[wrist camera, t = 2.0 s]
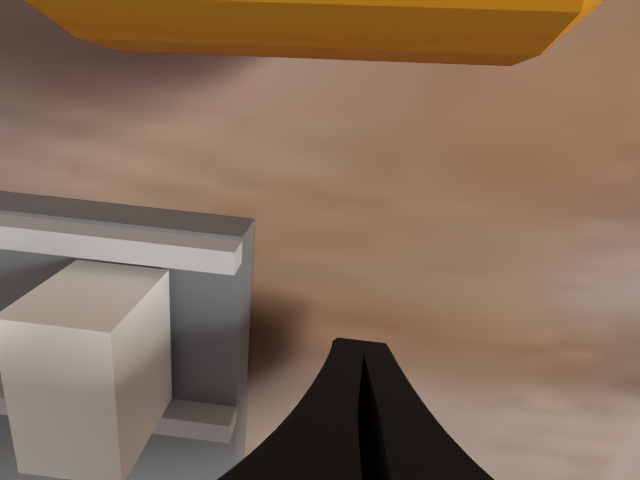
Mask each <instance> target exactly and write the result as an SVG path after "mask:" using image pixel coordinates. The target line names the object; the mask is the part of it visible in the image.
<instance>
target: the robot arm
mask: <svg viewBox="0 0 640 480" xmlns="http://www.w3.org/2000/svg"><path fill="white" fill-rule="evenodd" d="M217 480H494V479H493V478H492V477H491V476H490V475H488V474H487V473H486V472H485V471H484V470H483V469H482V468H481V467H480V466H478V465H477V464H476V463H475V462H474V461H473V460H472V459H471V458H470V457H469V456H468V455H467V454H466V453H465V452H464V451H463V450H462V449H461V447H460V446H459V445H458V444H457V443H456V442H455V441H454V440H453V439H452V438H451V437H450V436H449V435H448V434H447V432H446V431H445V430H444V429H443V428H442V426H441V425H440V424H439V423H438V421H437V420H436V419H435V418H434V416H433V415H432V414H431V412H430V411H429V410H428V408H427V407H426V406H425V404H424V403H423V402H422V400H421V399H420V397H419V396H418V394H417V393H416V391H415V390H414V388H413V387H412V386H411V384H410V383H409V381H408V379H407V378H406V376H405V375H404V373H403V371H402V370H401V368H400V366H399V365H398V363H397V361H396V360H395V358H394V356H393V354H392V352H391V350H390V349H389V347H388V346H387V344H386V343H379V342H370V341H362V340H353V339H345V338H336V339H335V340H334V341H333V343H332V347H331V350H330V353H329V355H328V357H327V359H326V361H325V363H324V365H323V367H322V369H321V371H320V372H319V374H318V376H317V377H316V379H315V381H314V382H313V384H312V385H311V387H310V388H309V389H308V391H307V392H306V394H305V395H304V396H303V398H302V399H301V400H300V402H299V403H298V404H297V406H296V407H295V408H294V409H293V411H292V412H291V413H290V414H289V415H288V417H287V418H286V419H285V420H284V421H283V422H282V423H281V424H280V425H279V426H278V428H277V429H276V430H275V431H274V432H273V433H272V434H271V435H269V436H268V437H267V438H266V439H265V440H264V441H263V442H262V443H261V444H260V445H259V446H258V447H257V448H256V449H255V450H254V451H252V452H251V453H250V454H249V455H248V456H247V457H245V458H244V459H243V460H241V461H240V462H239V463H238V464H236V465H235V466H234V467H232V468H231V469H230V470H229V471H227V472H226V473H225V474H223V475H222V476H221V477H219V478H218V479H217Z"/></svg>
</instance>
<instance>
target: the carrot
mask: <svg viewBox="0 0 640 480" xmlns="http://www.w3.org/2000/svg"><path fill="white" fill-rule="evenodd" d="M24 1H26V2H27V3H29V4H30V5H31V6H33V7H34V8H35V9H37V10H38V11H40V12H41V13H42V14H44V15H45V16H46V17H48V18H49V19H51V20H52V21H53V22H55V23H56V24H58V25H59V26H60V27H62V28H63V29H64V30H66V31H67V32H69V33H70V34H71V35H73V36H74V37H75V38H78V39H81V40H84V41H88V42H91V43H94V44H97V45H101V46H104V47H107V48H111V49H114V50H117V51H129V52H155V53H181V54H208V55H234V56H260V57H286V58H312V59H338V60H365V61H391V62H417V63H443V64H469V65H495V66H512V65H515V64H517V63H520V62H523V61H525V60H528V59H531V58H534V57H536V56H539V55H541V54H542V53H543V52H544V51H545V50H547V49H548V48H549V47H550V46H551V45H553V44H554V43H555V42H556V41H557V40H558V39H560V38H561V37H562V36H563V35H564V34H566V33H567V32H568V31H569V30H570V29H571V28H573V27H574V26H575V25H576V24H577V23H578V22H580V21H581V20H582V19H583V18H584V17H586V16H587V15H588V14H589V13H590V12H591V11H593V10H594V9H595V8H596V7H597V6H599V5H600V4H601V3H602V2H603V1H604V0H24Z"/></svg>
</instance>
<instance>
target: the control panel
mask: <svg viewBox="0 0 640 480" xmlns="http://www.w3.org/2000/svg"><path fill="white" fill-rule="evenodd" d="M254 222H255V219H248V218H239V217H230V216H221V215H212V214H203V213H194V212H185V211H176V210H166V209H157V208H148V207H139V206H130V205H121V204H112V203H103V202H94V201H85V200H76V199H67V198H57V197H48V196H39V195H30V194H21V193H12V192H3V191H0V312H1V311H2V310H3V309H5V308H6V307H8V306H9V305H11V304H12V303H14V302H15V301H17V300H18V299H20V298H21V297H23V296H24V295H26V294H27V293H28V292H30V291H31V290H33V289H34V288H36V287H37V286H39V285H40V284H42V283H43V282H45V281H46V280H48V279H49V278H50V277H52V276H53V275H55V274H56V273H58V272H59V271H61V270H62V269H64V268H65V267H67V266H68V265H70V264H71V263H73V262H74V261H75V260H85V261H94V262H103V263H112V264H120V265H129V266H138V267H147V268H155V269H164V270H169V298H170V338H171V378H172V399H171V400H170V402H169V404H168V406H167V408H166V409H165V411H164V413H163V415H162V417H161V418H160V420H159V422H158V424H157V425H156V427H155V429H154V431H153V433H152V434H151V436H150V438H149V440H148V442H147V443H146V445H145V447H144V449H143V451H142V452H141V454H140V456H139V458H138V459H137V461H136V463H135V465H134V467H133V468H132V470H131V472H130V474H129V476H128V477H127V479H126V480H217V479H218V478H219V477H221V476H222V475H223V474H225V473H226V472H227V471H229V470H230V469H231V468H232V467H234V466H235V465H236V464H238V463H239V462H240V461H241V460H243V459H244V447H245V424H246V402H247V379H248V357H249V334H250V312H251V289H252V267H253V245H254ZM0 480H69V479H61V478H54V477H46V476H38V475H31V474H23V473H18V468H17V462H16V457H15V451H14V446H13V440H12V434H11V429H10V423H9V418H8V412H7V407H6V401H5V396H4V390H3V385H2V379H1V374H0Z"/></svg>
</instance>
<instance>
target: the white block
mask: <svg viewBox="0 0 640 480" xmlns="http://www.w3.org/2000/svg"><path fill="white" fill-rule="evenodd" d="M0 374H1V379H2V385H3V390H4V396H5V401H6V407H7V412H8V418H9V423H10V429H11V434H12V440H13V446H14V451H15V457H16V462H17V468H18V473H23V474H31V475H38V476H46V477H54V478H61V479H69V480H126V479H127V477H128V476H129V474H130V472H131V470H132V468H133V467H134V465H135V463H136V461H137V459H138V458H139V456H140V454H141V452H142V451H143V449H144V447H145V445H146V443H147V442H148V440H149V438H150V436H151V434H152V433H153V431H154V429H155V427H156V425H157V424H158V422H159V420H160V418H161V417H162V415H163V413H164V411H165V409H166V408H167V406H168V404H169V402H170V400H171V399H172V378H171V338H170V298H169V270H164V269H155V268H147V267H138V266H129V265H120V264H112V263H103V262H94V261H85V260H75V261H74V262H73V263H71V264H70V265H68V266H67V267H65V268H64V269H62V270H61V271H59V272H58V273H56V274H55V275H53V276H52V277H50V278H49V279H48V280H46V281H45V282H43V283H42V284H40V285H39V286H37V287H36V288H34V289H33V290H31V291H30V292H28V293H27V294H26V295H24V296H23V297H21V298H20V299H18V300H17V301H15V302H14V303H12V304H11V305H9V306H8V307H6V308H5V309H3V310H2V311H1V312H0Z"/></svg>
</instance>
